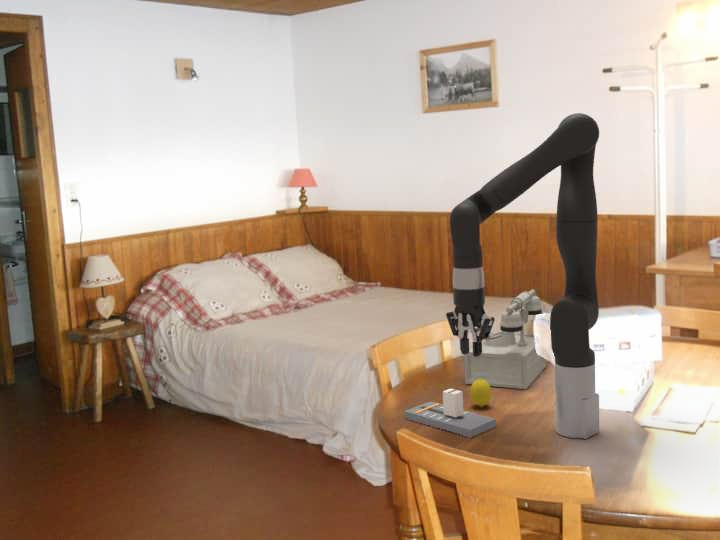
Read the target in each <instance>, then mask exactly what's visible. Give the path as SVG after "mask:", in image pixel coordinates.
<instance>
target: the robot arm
mask: <svg viewBox="0 0 720 540" xmlns="http://www.w3.org/2000/svg"><path fill="white" fill-rule="evenodd" d="M599 138H600V128H599V125H598V122H596V120H595V119H594V118H593V117H592V116H590V115H588V114H585V113H581V112H578V113H577V112H576V113H572V114H569V115H568V116H566V117H564V118H563V119H562V120H561V121H560V123H559V124H558V126H557V128H556V129H555V130H554V131H553V132H552V133H551V134H550V135H549V136H548V137H547V138H546V139H545V140H544V141H543V142H542V143H541V144H540V145H537V147H536V148H535V149H533V150H532V151H531V152H530V153H528V154H527V155H525V156H524V157H521V159H519V160H517V161H515V162H514V163H512V164H511V165H510V166H507V167H506V168H505V169H503V170H502V171H501V172H499V173H498V174H497V175H495V176H494V177H493V178H491V179H490V180H489V181H488V182H486V183H485V184H484V185H483V186H482V187H481V188H480V189H479V190H478V191H476V192H475V193H473V194H472V195H471V194H470V195H469V196H468V197H467V198H466V199H464V200H462V201H461V202H459V203H458V204H456V205H455V206H454V207H453V209H452V210H451V212H450V216H449V228H450V230H449V231H450V235H451V241H452V242H451V243H452V265H453V266H452V291H453V292H452V294H453V295H452V297H453V305H454V306H455V307H454V310H453V311H449V312H446V314H445V316H446V319H447V321H448V324H449V328H450V330H451V333H452V335H453V337H454V336H456V337H458V339H459V349H460V352H461V354H462V355H464V356H465V354H468V353H469V348H470V338H469V333H471V338H472V345H473V356H475V357H477V356H480V355H481V354H482V340H484V339H487V338H489V335H490V333H492V332H491V331H492V329H493V327H494V326H493V325H494V323H495V320H496V319H495V317H494V316H488V314H486V312H485V309H484V307H485V303H486V296H485V295H486V291H485V288H486V287H485V286H486V285H485V272H484V266H483V265H484V263H483V249H482V245H481V240H480V239H481V233H480V229H481V228H480V225H481V224H482V223H484V222H485V221H486V220H487V219H488V218H490V217H491V216H492V215H493V214H495V213H496V212H499V211H500V210H502V209H504V208H505V207H507V206H508V205H509V204H511V203H513V201H515V200H516V199H518V198H519V197H520V196H522V195H523V194H525V193H526V192H527V191H528V190H529V189H530V188H532V187H533V186H534V185H536V183H538V182H539V181H540V180H541V179H543V178H544V177H546V176H547V175H548V174H549V173H551V172H553V171H554V170H556V169H557V168H558V167H560V179H559V180H560V181H559V182H560V183H559V189H558V196H557V205H556V218H555V219H556V220H555V221H556V227H555V229H556V230H555V231H556V235H555V237H556V244H557V248H558V251H559V254H560V258H561V261H562V262H563V266H564V271H565V272H564V273H565V284H564V285H565V288H564V297H563V298H562V299H560V300H558V301H557V302H556V303H554V305H553V307H552V308H551V311H550V316H549V324H550V330H551V335H550V344H551V345H550V346H551V351H552V352H553V353H554V378H555V379H554V381H555V384H554V385H555V391H554V392H555V428H556V429H555V431H556V434H559V435H560V436H562V437H567V438H571V439H572V438H573V439H585V440H586V439H587V440H588V439H589V438H590V437H593V436H594V435H597V434H598V433H600V395H599V393H596V353H595V351H594V350H593V348H591V346H590V331H589V330H591V329H592V328H593V327H595V325H596V323H597V321H598V319H599V316H600V315H599V313H600V311H599V310H600V309H599V308H600V307H599V299H598V298H599V296H598V287H597V273H596V272H597V255H598V253H597V249H598V247H597V246H598V245H597V244H598V221H599V220H598V219H599V218H598V203H597V194H596V187H595V180H594V166H595V165H594V164H595V156H596V155H595V153H596V147H597V143H598V141H599Z"/></svg>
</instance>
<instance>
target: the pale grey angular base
mask: <svg viewBox="0 0 720 540" xmlns="http://www.w3.org/2000/svg"><path fill="white" fill-rule="evenodd" d="M542 308H543V307H542V305H541V299H540V297H539V296H537V293H536V290H535V289H531V290H529V291H522V292H521V293H519V295H517V296H516V297H514V298H512V299H511V301H510V306H508V307H506V308H505V309H506V310H505V311H503V312H502V313H501V318H500V323H499V327H500V330H498V331H496V332H490V335H489V338H487V339H484V340H482V354H481V355H480V356H477V357H475V356H473V344H472V345H471V346H469V353H468V354H465V355H464V373H465V374H464V381H465V384H466V385H472V384H473V383H474V382H475V381H476V380H478V379H479V378H482V379H483V380H485V381H487V382H488V383H489V385H490V387H495V388H496V387H498V388H509V389H519V390H527V389H528V388H529V387H530V386H531V385H532V383H533V382H534V381H536V379H537V378H538V377H539V376H540V375H541V373H542V372H543V371H544V370H545V369H546V368H547V361H546V359H544V358H543V357H541V356H539V355H537V353H536V350H535V342H534V335H535V334H534V335H533V334H525V332H524V331H525V330H524V324H527V323H528V321H529V316H537V315H539V314H544V312H543V309H542ZM517 332H520V334H519V333H517ZM544 368H545V369H544ZM543 369H544V370H543Z"/></svg>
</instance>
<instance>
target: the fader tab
mask: <svg viewBox="0 0 720 540" xmlns="http://www.w3.org/2000/svg"><path fill="white" fill-rule="evenodd" d="M442 405H443V412H444V414H445V415H448V416H452V417H455V418H456V417H458V416H461V415H463V410H464V394H463V391H462V390H458V389H457V388H455V389H453V388H449V389H446V390H443V391H442Z"/></svg>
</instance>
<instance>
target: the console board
mask: <svg viewBox="0 0 720 540" xmlns="http://www.w3.org/2000/svg"><path fill="white" fill-rule="evenodd" d="M404 419H405V420H408V421H411V420H412V421H413V422H415V423H418V424H421V423H422V425H425V424H426V425H425V426H428V425H430V426H429V427H432V426H433V427H432V428H435V427H436V429H438V428H440V429H439V430H442V429H444V430H443V431H445V430H447V431H446V432H448V431H452V432H454V433H453V434H455V433H457V434H456V435H458V434H460V435H459V436H462V435H463V436H462V437H465V436H466V438H468V437H469V439H471V438H473V436H474V437H475V436H478V435H480V434H483V433H485V432H487V431H490V430H492V429H493V428H496V427H497V419H496V418H494V417H491V416H486V415H483V414H478V413H475V412H471V411H468V410H465V409H463V415H461V416H458V417H456V418H455V417H452V416H448V415H445V414H444V412H443V403H439V402H434V401H431V400H430V401H428V402H425V403H422V404H420V405H417V406H414V407H412V408H409V409H406V410H404ZM412 421H411V422H412ZM452 432H451V433H452ZM482 432H483V433H482Z"/></svg>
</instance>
